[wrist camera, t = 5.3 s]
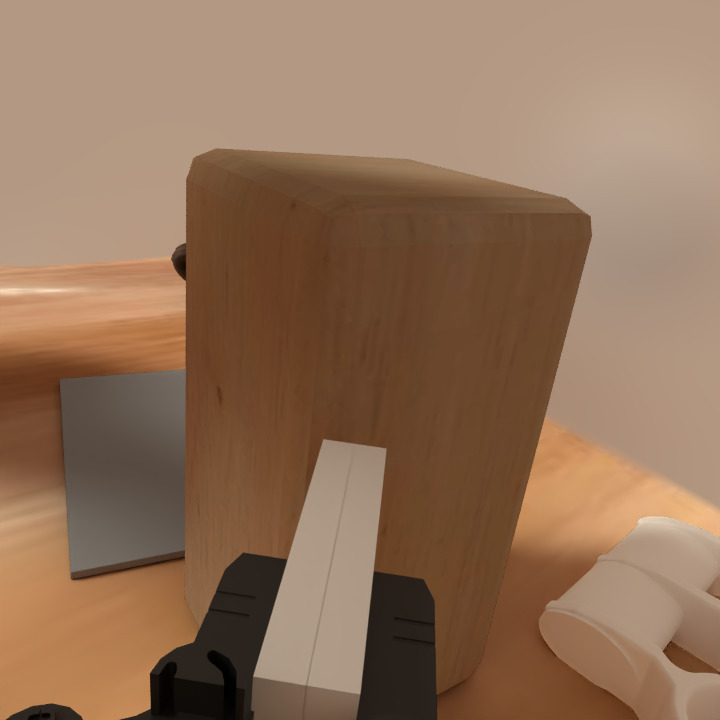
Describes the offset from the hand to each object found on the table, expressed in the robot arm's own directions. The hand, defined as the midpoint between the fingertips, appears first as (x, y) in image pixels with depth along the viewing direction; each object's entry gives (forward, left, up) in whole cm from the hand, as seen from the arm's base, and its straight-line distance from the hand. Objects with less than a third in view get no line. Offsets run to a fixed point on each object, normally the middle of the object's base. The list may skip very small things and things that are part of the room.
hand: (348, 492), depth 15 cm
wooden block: (-7, +4, -14) cm, 16 cm away
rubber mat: (-25, +6, -13) cm, 29 cm away
